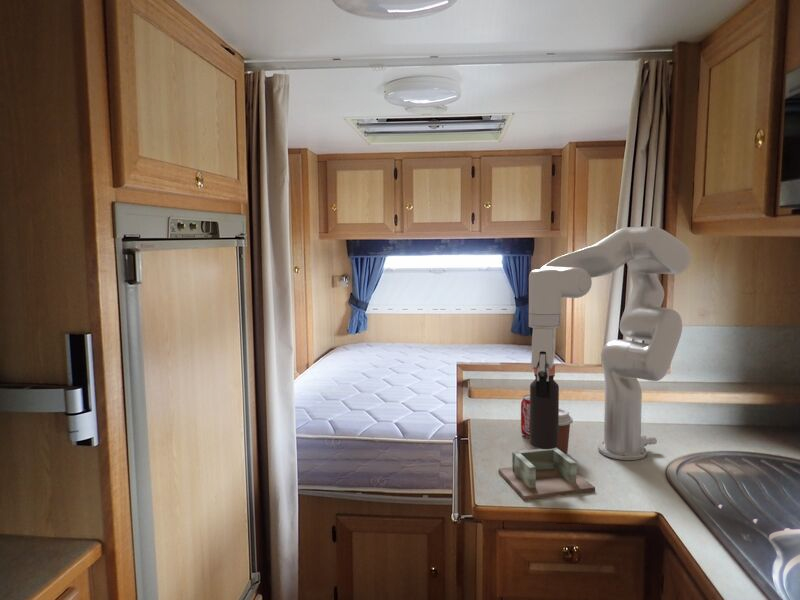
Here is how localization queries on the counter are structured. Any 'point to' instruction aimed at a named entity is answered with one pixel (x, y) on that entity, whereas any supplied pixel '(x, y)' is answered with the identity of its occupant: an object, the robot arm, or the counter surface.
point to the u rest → (544, 474)
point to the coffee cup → (564, 430)
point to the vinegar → (544, 414)
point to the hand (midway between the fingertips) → (544, 392)
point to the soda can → (525, 416)
